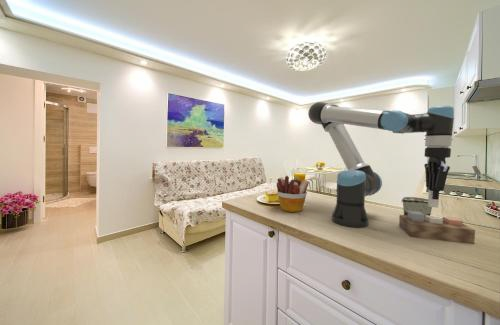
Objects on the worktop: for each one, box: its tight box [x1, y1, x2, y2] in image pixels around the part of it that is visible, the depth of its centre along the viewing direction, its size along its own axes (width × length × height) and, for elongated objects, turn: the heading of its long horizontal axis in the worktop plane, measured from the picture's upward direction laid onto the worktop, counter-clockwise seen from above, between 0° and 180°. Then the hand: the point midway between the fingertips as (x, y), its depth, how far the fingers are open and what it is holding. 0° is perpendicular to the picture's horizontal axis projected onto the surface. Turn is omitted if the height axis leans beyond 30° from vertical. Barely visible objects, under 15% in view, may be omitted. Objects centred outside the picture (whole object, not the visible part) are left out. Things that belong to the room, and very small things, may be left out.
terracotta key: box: [442, 216, 464, 226], centre depth 80 cm, size 4×4×4 cm
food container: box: [401, 196, 433, 217], centre depth 101 cm, size 12×6×10 cm, turn 65°
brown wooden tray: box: [398, 214, 476, 244], centre depth 82 cm, size 19×12×5 cm, turn 72°
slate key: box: [408, 211, 424, 222], centre depth 84 cm, size 4×4×4 cm
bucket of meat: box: [276, 175, 310, 213], centre depth 115 cm, size 20×16×20 cm
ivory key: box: [425, 215, 443, 224], centre depth 82 cm, size 4×4×4 cm
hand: (432, 206), depth 82 cm, fingers closed
